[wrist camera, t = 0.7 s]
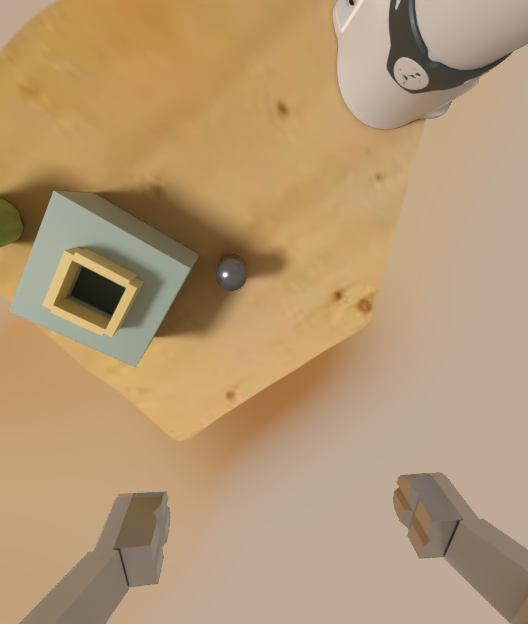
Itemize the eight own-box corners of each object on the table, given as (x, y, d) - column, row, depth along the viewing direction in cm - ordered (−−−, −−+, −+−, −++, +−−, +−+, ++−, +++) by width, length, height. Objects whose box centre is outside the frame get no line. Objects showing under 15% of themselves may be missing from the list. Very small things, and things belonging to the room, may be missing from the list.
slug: (227, 248, 42) (225, 255, 37) (250, 262, 44) (251, 271, 38) (214, 270, 44) (210, 281, 38) (236, 283, 45) (236, 295, 39)
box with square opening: (93, 192, 38) (37, 189, 28) (199, 255, 42) (187, 273, 32) (53, 289, 42) (-8, 319, 32) (153, 337, 47) (129, 378, 36)
